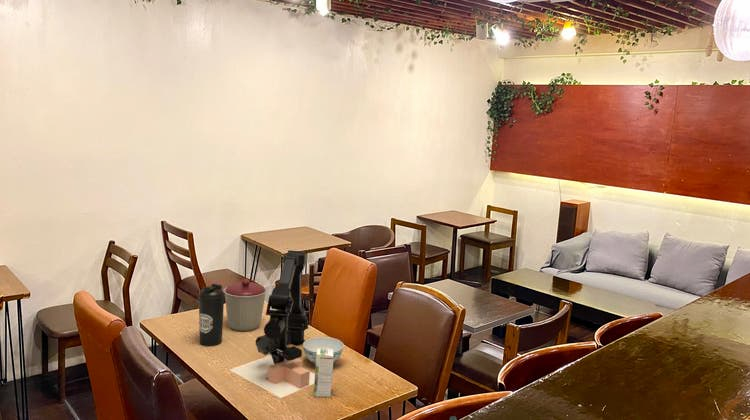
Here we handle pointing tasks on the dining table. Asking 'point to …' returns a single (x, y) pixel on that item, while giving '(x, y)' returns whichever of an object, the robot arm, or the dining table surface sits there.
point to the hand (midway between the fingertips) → (277, 369)
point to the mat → (259, 376)
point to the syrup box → (323, 373)
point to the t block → (289, 373)
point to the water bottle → (211, 315)
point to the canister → (244, 305)
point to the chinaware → (322, 347)
